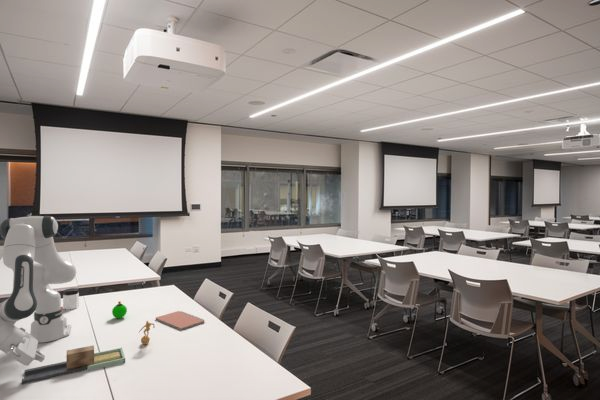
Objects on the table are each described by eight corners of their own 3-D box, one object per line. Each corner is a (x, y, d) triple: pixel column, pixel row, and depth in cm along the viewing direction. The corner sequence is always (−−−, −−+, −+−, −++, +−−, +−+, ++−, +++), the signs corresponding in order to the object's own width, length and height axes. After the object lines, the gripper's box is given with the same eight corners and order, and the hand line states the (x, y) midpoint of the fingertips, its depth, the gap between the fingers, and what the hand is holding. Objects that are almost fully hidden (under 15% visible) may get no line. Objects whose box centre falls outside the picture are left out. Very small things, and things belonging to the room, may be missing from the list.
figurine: (150, 340, 185) (150, 317, 185) (157, 343, 182) (157, 319, 181) (135, 345, 178) (135, 321, 178) (141, 348, 175) (141, 324, 175)
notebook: (206, 323, 211) (206, 319, 211) (181, 331, 198) (180, 327, 198) (180, 313, 228) (180, 310, 228) (155, 320, 215) (155, 317, 215)
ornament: (123, 320, 215) (123, 303, 214) (109, 320, 214) (109, 303, 214) (129, 315, 223) (129, 299, 222) (115, 315, 222) (115, 299, 222)
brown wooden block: (66, 371, 150) (66, 354, 150) (66, 366, 154) (66, 350, 154) (94, 365, 155) (94, 349, 155) (93, 361, 160) (93, 345, 160)
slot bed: (21, 387, 140) (21, 381, 140) (25, 375, 149) (25, 369, 149) (87, 372, 152) (87, 367, 152) (86, 362, 161) (86, 356, 161)
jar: (64, 310, 231) (64, 292, 231) (61, 308, 237) (61, 289, 237) (80, 307, 237) (80, 289, 237) (77, 305, 243) (77, 287, 243)
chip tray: (88, 373, 151) (88, 366, 151) (87, 361, 162) (87, 354, 162) (125, 365, 158) (125, 358, 158) (122, 353, 169) (122, 347, 169)
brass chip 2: (107, 363, 158) (107, 358, 158) (106, 358, 162) (106, 354, 162) (120, 360, 161) (120, 355, 161) (118, 356, 165) (118, 351, 165)
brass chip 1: (94, 365, 155) (94, 361, 155) (93, 361, 160) (93, 356, 160) (107, 363, 158) (107, 358, 158) (106, 358, 162) (106, 354, 162)
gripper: (16, 343, 135) (48, 362, 140) (22, 326, 152) (51, 343, 158) (1, 358, 133) (34, 377, 138) (9, 338, 150) (38, 356, 155)
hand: (43, 359), depth 148 cm, fingers closed
